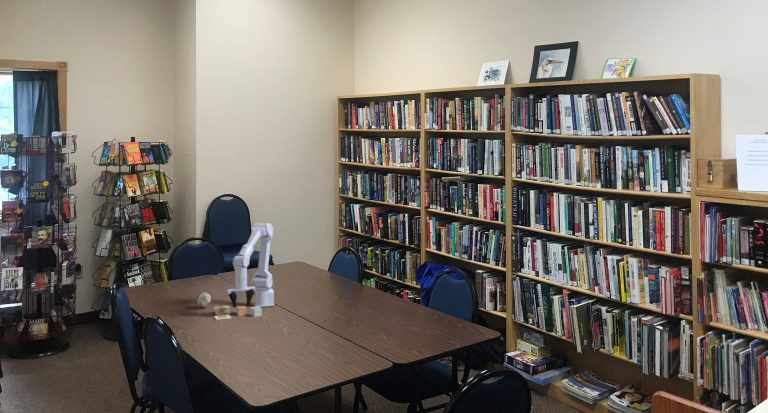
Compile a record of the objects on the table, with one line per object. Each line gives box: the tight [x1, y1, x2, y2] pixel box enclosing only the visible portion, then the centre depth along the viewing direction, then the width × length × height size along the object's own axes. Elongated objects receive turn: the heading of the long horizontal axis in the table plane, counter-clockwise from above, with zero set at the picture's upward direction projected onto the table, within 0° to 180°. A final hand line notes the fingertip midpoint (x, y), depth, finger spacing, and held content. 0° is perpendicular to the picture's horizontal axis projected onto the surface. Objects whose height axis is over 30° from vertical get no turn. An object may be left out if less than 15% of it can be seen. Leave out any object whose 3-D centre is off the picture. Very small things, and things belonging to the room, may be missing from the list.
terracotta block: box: [236, 305, 248, 317], centre depth 309 cm, size 4×5×4 cm
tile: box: [213, 314, 232, 321], centre depth 303 cm, size 7×7×1 cm
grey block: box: [249, 306, 263, 318], centre depth 307 cm, size 4×5×4 cm
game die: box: [195, 291, 213, 309], centre depth 323 cm, size 9×8×10 cm
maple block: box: [214, 305, 232, 316], centre depth 313 cm, size 7×7×3 cm
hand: (241, 306), depth 309 cm, fingers open, 7 cm apart
